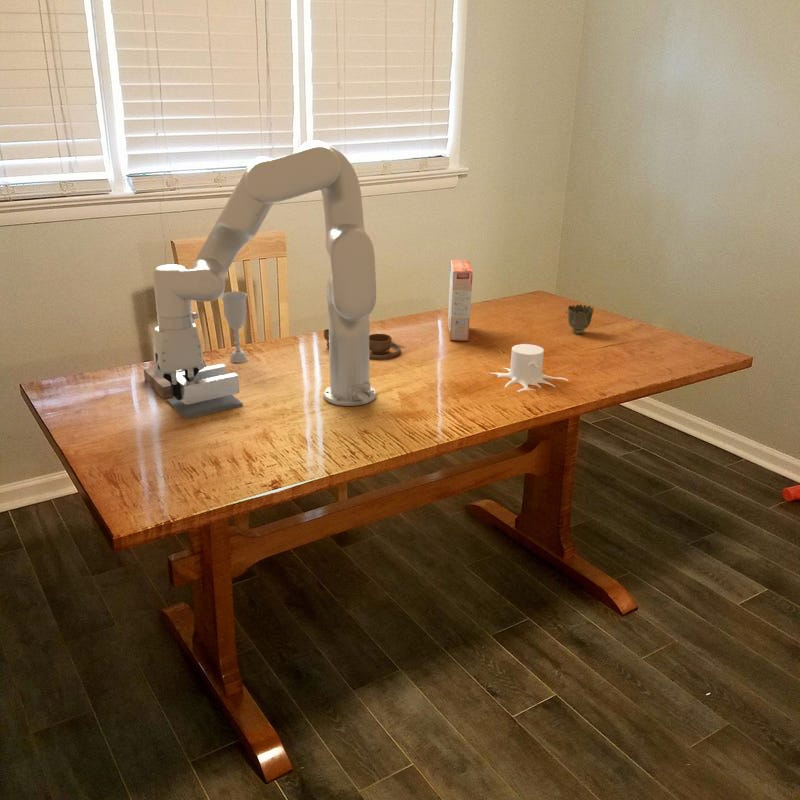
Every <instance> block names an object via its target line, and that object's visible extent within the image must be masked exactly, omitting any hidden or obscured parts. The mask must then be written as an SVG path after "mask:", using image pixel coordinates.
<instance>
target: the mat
mask: <svg viewBox="0 0 800 800" xmlns="http://www.w3.org/2000/svg"><path fill="white" fill-rule="evenodd" d="M166 402H167V403H168V404H169V405H170V406H171V407H172V408H174V409H173V410H175V411H176V412H177V413H178V414H179V415H180V416H182V417H183V419H185V420H189V419H192V418H197V417H201V416H202V417H203V416H205V415H209V414H213V413H218V412H223V411H227V410H230V409H235V408H239V406H240V407H243V406H244V403H243V402H241V401H240V400H239V398H237V397H235V396H234V394H233V395H228V396H224V397H219V398H215V399H210V400H206V401H202V402H197V403H193V404H188V405H186V404H184V403H183V402H182V401H181V400H177V399H176V398H175V397H170V398H166ZM242 405H243V406H242ZM222 410H223V411H222Z"/></svg>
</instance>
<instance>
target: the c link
mask: <svg viewBox="0 0 800 800" xmlns="http://www.w3.org/2000/svg"><path fill="white" fill-rule="evenodd" d="M176 374H177V381H178V384H179V385H180V394H181V401H182V402H183V403H184V404H186V405H188V404H193V403H197V402H202V401H206V400H210V399H215V398H219V397H224V396H228V395H233V396H234V395H237V394H239V393H240V383H239V375H238V374H237V373H236V372H230V373H227V366H226V365H225V364H224V363H219V364H215V365H208V366H206V367H205V368H204V369H202V370H200V371H199V372H198V373H197V374H196V376H195V377H194V380H193V381H192V382H189V381H188V380H187V379H185V378H184V377H185V373H184V371H183V372H178V373H176Z"/></svg>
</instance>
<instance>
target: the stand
mask: <svg viewBox="0 0 800 800" xmlns="http://www.w3.org/2000/svg"><path fill="white" fill-rule="evenodd" d="M154 369H155V366H154V367H149V368H144V369H143V376H144V377H143V378H144V381H145V382H146V383H147V384H148V385H149V386H150V387H151V388H152V389H154V390H155V392H156V393H158V395H159V396H161V397H162V399H170V398H175V397H174V396H172V393H171V384H170V382H169V381H168V380H166V379H164V378H158V377H155V376H154V375H153V372H154ZM183 371H184V370H181V371H176V373H178V372H183Z"/></svg>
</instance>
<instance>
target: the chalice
mask: <svg viewBox="0 0 800 800" xmlns="http://www.w3.org/2000/svg"><path fill="white" fill-rule="evenodd" d="M247 296H248V293H247V292H244V291H227V292H223V294H222V295H221V297H220V298H221V300H222V302H223V303H222V304H223V305H222V306H223V314H224V318H225V319H226V322H227V323H228V325H229V327H230V328H231V329H232V330H234V336H233V337H234V339H235V341H234V342H233V344H235V349H234V350H233V351H232V352H231V353H230V354H231V355H230V356H229V359H228V360H230V361H231V362H230V361H229V362H230V363H233V362H236V363H235V364H242V363H246V362H248V361H249V358H248V357H247V354H246V352H245V351H244V350H242V349H241V348H240V346H241V345H240V344H241V343H242V342H241V341H240V337H241V335H240V333H239V330H240V329H242V327H243V325H244V322H245V320H246V316H247V313H248V312H247ZM245 361H246V362H245ZM241 362H242V363H241Z"/></svg>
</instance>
